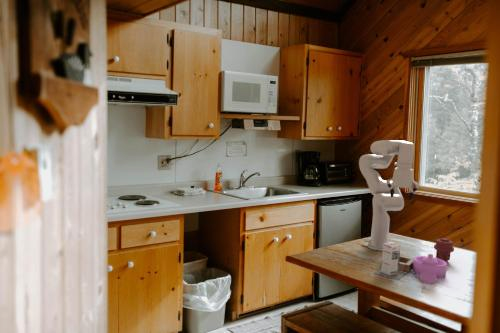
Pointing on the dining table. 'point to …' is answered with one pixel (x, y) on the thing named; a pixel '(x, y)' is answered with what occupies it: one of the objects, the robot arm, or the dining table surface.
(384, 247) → the syrup box
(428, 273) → the container set
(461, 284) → the dining table surface
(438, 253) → the mechanical component
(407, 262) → the socket collar
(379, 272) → the rubber mat
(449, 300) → the dining table surface
